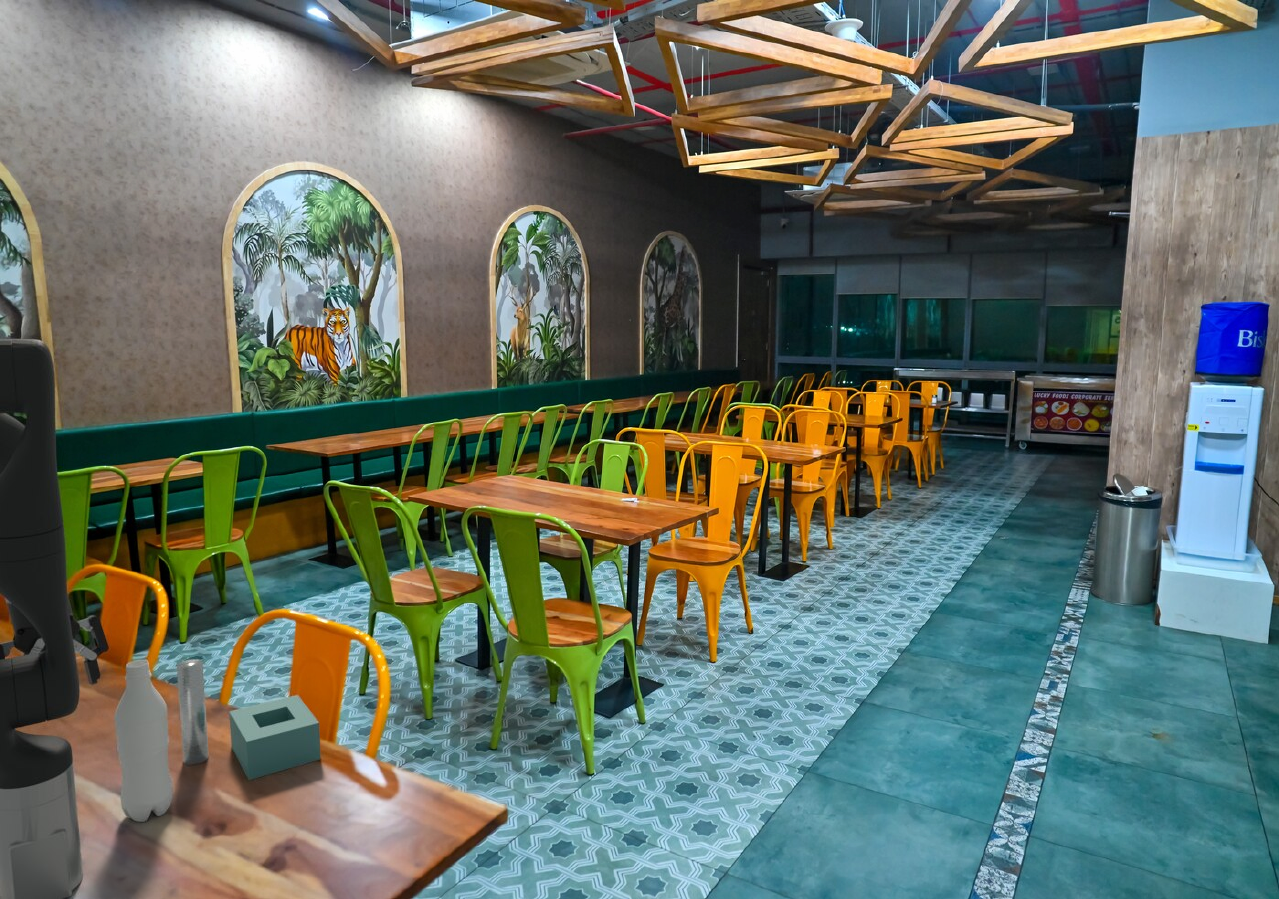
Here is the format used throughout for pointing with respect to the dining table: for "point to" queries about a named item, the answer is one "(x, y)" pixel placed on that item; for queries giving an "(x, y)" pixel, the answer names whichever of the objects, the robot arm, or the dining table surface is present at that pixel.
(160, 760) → the water bottle
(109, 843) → the dining table surface
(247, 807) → the dining table surface
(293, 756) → the well block
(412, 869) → the dining table surface
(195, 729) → the steel post
